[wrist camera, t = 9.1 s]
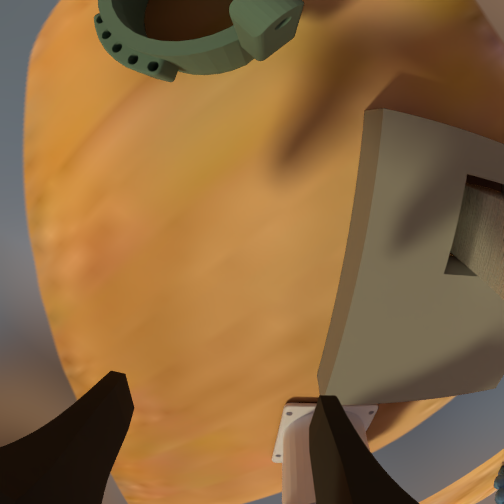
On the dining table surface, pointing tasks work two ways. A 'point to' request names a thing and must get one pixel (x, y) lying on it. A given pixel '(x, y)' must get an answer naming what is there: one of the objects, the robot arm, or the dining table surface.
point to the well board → (412, 271)
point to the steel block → (482, 235)
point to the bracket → (197, 50)
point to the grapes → (499, 486)
